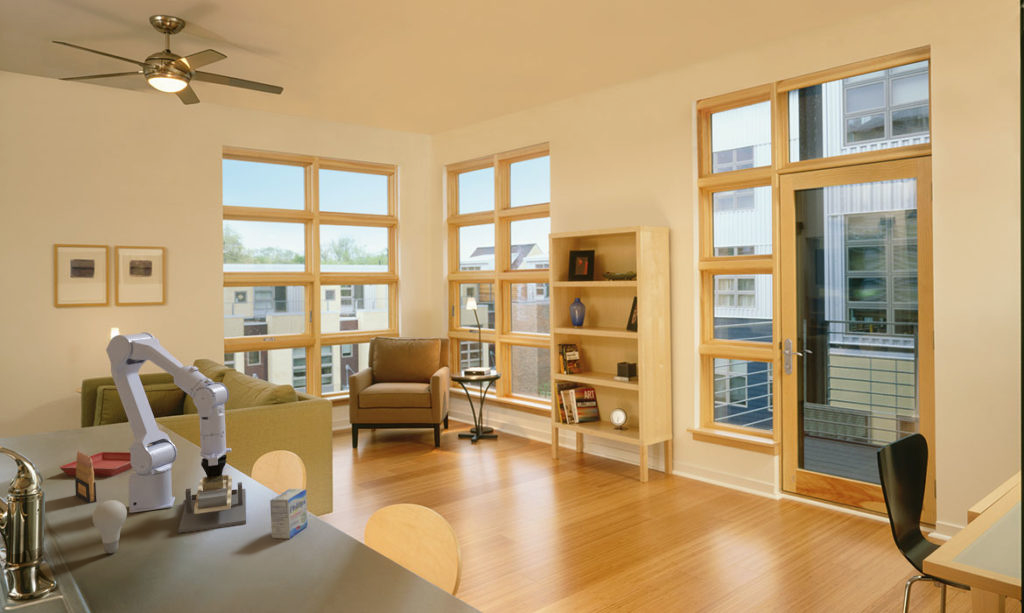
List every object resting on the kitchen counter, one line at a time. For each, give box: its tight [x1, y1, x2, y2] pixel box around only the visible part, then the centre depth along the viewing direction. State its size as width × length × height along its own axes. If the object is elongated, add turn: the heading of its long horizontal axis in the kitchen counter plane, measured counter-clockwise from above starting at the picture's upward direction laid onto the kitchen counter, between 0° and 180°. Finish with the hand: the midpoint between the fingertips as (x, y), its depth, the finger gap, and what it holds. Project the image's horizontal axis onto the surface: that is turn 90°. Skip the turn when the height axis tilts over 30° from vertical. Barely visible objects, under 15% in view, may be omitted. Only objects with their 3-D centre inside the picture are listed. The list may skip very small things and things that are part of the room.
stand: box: [178, 481, 247, 534], centre depth 160 cm, size 26×14×6 cm, turn 23°
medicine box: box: [269, 488, 308, 540], centre depth 145 cm, size 8×4×9 cm, turn 168°
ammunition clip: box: [74, 450, 97, 504], centre depth 171 cm, size 11×2×12 cm, turn 49°
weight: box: [202, 474, 224, 491], centre depth 157 cm, size 4×4×4 cm
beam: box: [191, 474, 238, 514], centre depth 160 cm, size 23×10×3 cm, turn 23°
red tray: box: [59, 451, 133, 477], centre depth 200 cm, size 18×18×3 cm
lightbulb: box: [91, 499, 128, 555], centre depth 135 cm, size 6×6×11 cm
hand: (215, 487), depth 161 cm, fingers closed
